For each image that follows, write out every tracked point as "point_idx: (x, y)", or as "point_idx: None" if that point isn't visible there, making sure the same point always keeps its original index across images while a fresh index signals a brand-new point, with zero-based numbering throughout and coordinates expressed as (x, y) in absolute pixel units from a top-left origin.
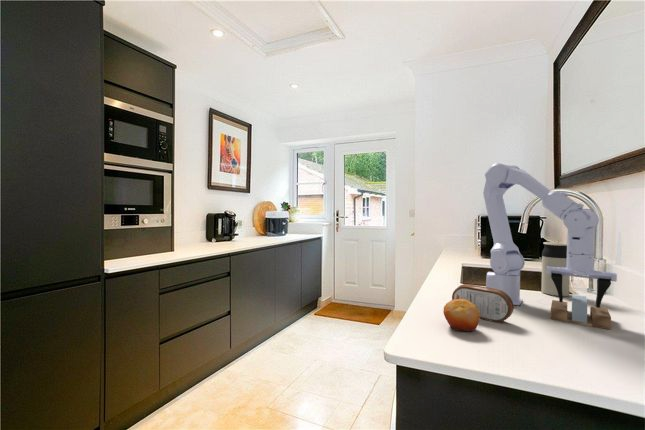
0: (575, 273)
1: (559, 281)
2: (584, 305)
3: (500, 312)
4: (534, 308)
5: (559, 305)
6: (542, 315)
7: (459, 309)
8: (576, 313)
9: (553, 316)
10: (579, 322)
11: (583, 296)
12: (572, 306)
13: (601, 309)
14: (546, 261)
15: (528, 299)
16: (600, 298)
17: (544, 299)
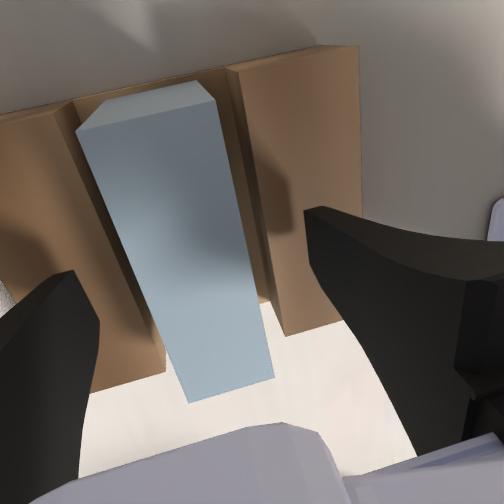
0: (317, 444)
1: (463, 263)
2: (105, 120)
3: None
4: (416, 228)
5: (312, 199)
6: (370, 100)
7: None
8: (171, 93)
9: (310, 49)
10: (149, 84)
11: (200, 389)
12: (207, 93)
13: None
14: None
15: None
16: (6, 319)
17: (381, 417)
